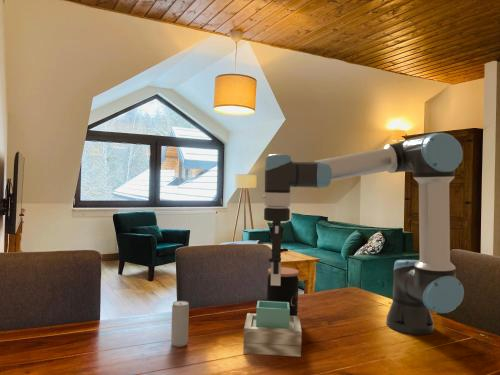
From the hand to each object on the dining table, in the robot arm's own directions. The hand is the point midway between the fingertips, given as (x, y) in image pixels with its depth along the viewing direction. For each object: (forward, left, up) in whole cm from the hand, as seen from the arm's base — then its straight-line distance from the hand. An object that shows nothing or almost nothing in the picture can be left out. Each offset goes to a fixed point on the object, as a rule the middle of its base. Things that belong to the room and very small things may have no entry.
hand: (275, 279), depth 120 cm
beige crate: (0, 0, -20) cm, 20 cm away
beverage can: (+27, +3, -20) cm, 34 cm away
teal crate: (0, 0, -14) cm, 14 cm away
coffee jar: (-3, -20, -20) cm, 28 cm away
